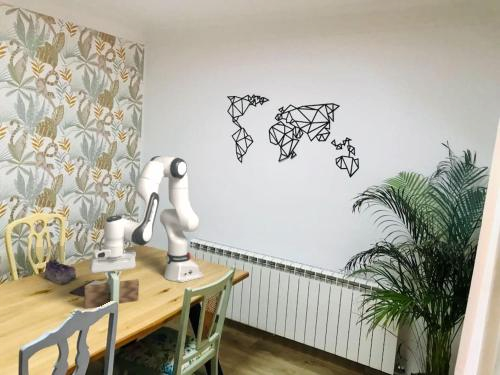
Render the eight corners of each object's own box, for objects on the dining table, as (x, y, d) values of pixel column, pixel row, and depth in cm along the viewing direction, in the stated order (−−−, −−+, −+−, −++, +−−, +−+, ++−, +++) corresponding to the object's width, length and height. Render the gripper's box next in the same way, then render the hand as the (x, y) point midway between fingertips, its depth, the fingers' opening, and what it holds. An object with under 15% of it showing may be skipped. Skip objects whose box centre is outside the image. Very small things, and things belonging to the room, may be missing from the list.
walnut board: (136, 298, 186) (137, 279, 185) (138, 300, 184) (138, 281, 183) (84, 306, 174) (84, 286, 172) (85, 309, 171) (85, 288, 170)
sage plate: (106, 295, 185) (106, 268, 183) (111, 294, 186) (112, 267, 184) (112, 309, 171) (113, 279, 169) (118, 308, 172) (119, 279, 171)
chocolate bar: (68, 292, 186) (93, 280, 203) (68, 294, 186) (93, 281, 203) (83, 295, 184) (107, 282, 201) (83, 297, 184) (107, 284, 201)
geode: (34, 278, 201) (36, 259, 202) (54, 274, 212) (56, 257, 212) (59, 286, 192) (61, 266, 192) (79, 282, 203) (81, 263, 203)
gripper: (134, 246, 183) (133, 274, 185) (89, 250, 173) (88, 279, 175) (137, 250, 178) (136, 278, 180) (91, 254, 167) (90, 284, 169)
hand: (112, 279), depth 177 cm, fingers closed on sage plate, 2 cm apart
